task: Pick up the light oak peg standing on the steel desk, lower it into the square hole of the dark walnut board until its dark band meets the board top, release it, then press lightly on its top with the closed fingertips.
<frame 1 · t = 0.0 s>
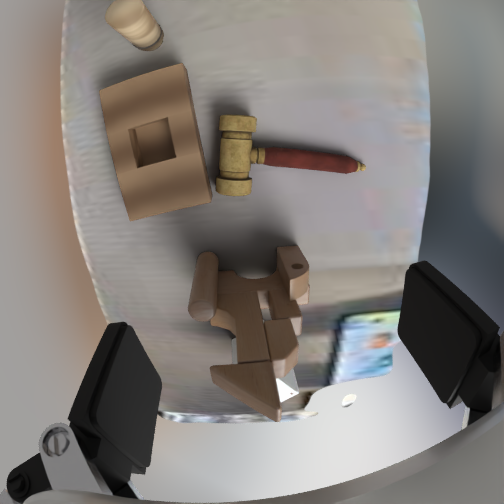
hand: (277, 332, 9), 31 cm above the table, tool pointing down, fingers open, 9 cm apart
supplement box: (258, 339, 49), on the table
oak peg: (151, 40, 28), on the table
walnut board: (159, 141, 34), on the table
gavel: (294, 157, 37), on the table
wooden toy: (249, 266, 43), on the table
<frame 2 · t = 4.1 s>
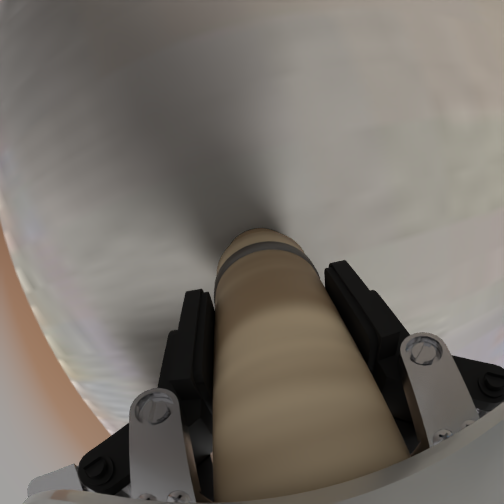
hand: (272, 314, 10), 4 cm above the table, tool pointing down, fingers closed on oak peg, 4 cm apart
oak peg: (259, 259, 14), on the table, touching gripper
when the fingers open (6 cm above the table, at t = 9.3 s): oak peg stays where it is, resting on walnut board.
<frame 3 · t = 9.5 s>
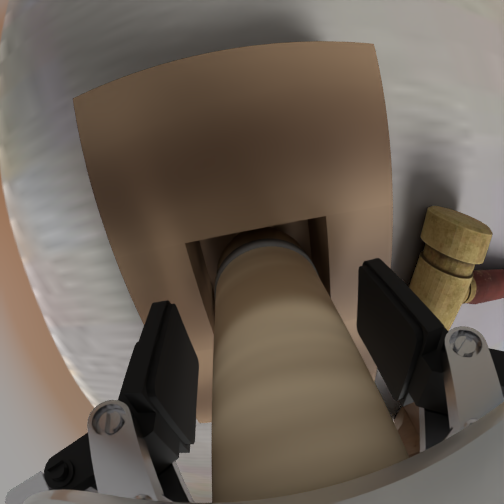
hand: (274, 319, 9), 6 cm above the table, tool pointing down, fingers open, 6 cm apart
oak peg: (259, 256, 14), point 1 cm above the table, touching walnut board
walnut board: (256, 249, 15), on the table
gavel: (479, 273, 18), on the table
wooden toy: (369, 413, 24), on the table
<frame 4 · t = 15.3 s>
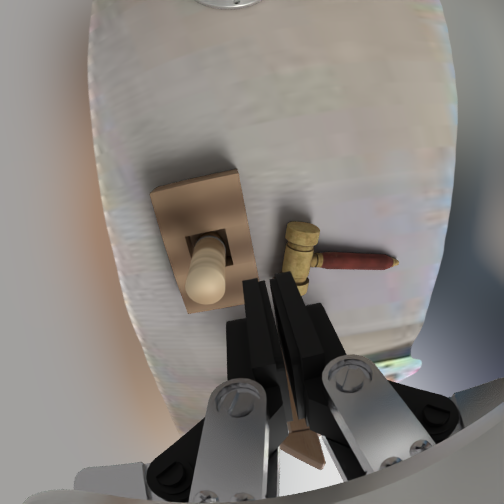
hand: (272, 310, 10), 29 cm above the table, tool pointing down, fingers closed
oak peg: (210, 241, 39), point 1 cm above the table, touching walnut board
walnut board: (211, 239, 40), on the table
gavel: (342, 255, 43), on the table
wooden toy: (286, 337, 49), on the table
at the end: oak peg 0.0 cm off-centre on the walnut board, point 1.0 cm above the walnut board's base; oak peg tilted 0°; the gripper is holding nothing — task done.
